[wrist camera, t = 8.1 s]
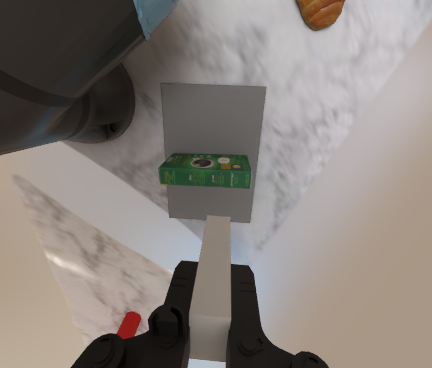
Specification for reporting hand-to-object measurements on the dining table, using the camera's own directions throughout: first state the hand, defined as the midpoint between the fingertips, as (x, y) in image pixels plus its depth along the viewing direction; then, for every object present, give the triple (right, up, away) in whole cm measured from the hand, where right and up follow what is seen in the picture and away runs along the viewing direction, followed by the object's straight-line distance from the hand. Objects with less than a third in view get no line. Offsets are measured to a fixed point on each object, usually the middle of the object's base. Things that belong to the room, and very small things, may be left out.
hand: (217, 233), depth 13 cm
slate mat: (-1, +7, +22) cm, 23 cm away
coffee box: (+5, +5, +18) cm, 19 cm away
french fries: (-23, -33, +40) cm, 57 cm away
